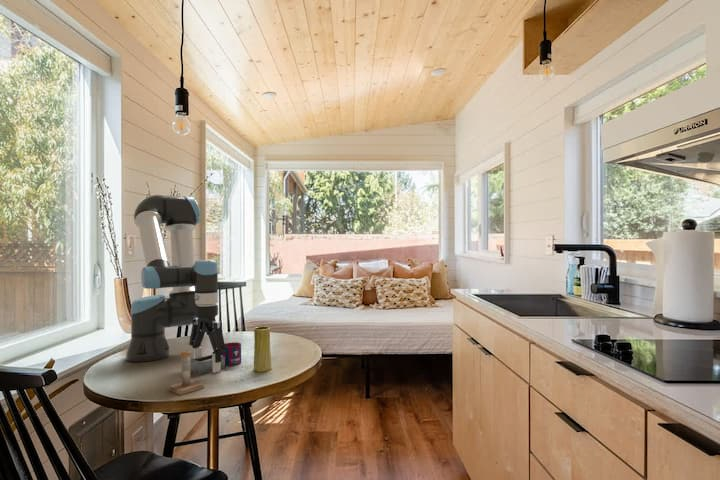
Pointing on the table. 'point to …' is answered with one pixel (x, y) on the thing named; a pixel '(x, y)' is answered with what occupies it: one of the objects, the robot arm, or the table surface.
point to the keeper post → (185, 377)
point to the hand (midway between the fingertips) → (207, 369)
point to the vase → (262, 349)
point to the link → (204, 364)
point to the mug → (232, 353)
